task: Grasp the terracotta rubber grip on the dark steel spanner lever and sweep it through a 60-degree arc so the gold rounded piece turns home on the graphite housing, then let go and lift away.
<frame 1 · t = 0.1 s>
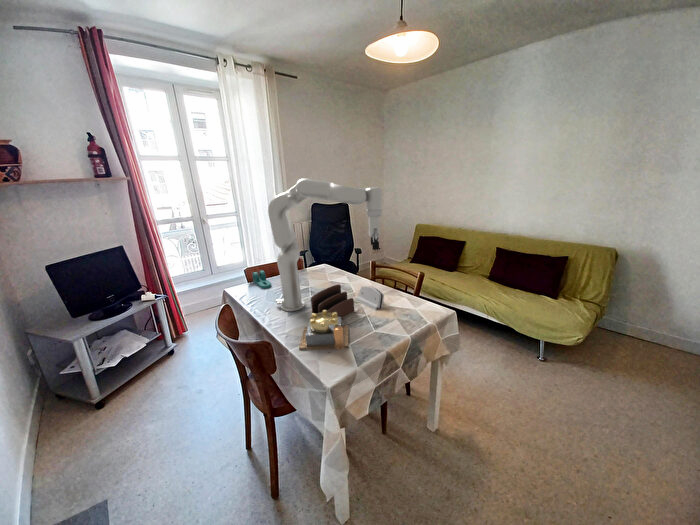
hand: (374, 247, 141), 31 cm above the table, tool pointing down, fingers open, 9 cm apart
gold rounded piece: (328, 328, 114), point 7 cm above the table, hinge at 0.0°
hinge: (370, 303, 150), on the table
bracket: (263, 285, 184), on the table
letter holder: (334, 316, 138), on the table
nut housing: (325, 337, 120), on the table
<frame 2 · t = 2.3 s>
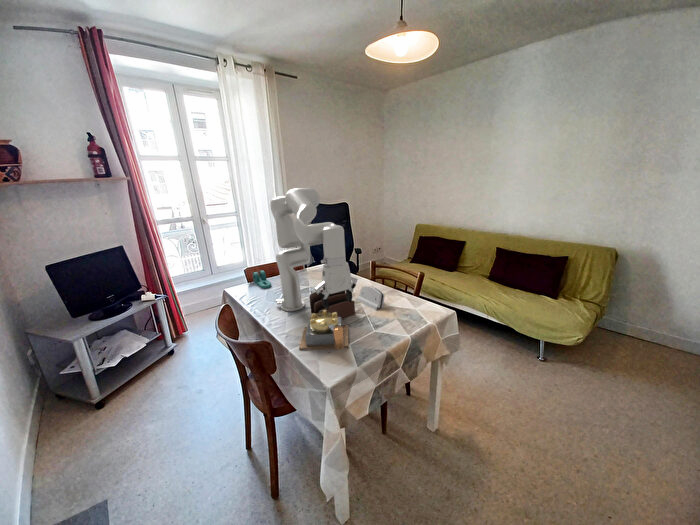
hand: (338, 304, 104), 21 cm above the table, tool pointing down, fingers open, 9 cm apart
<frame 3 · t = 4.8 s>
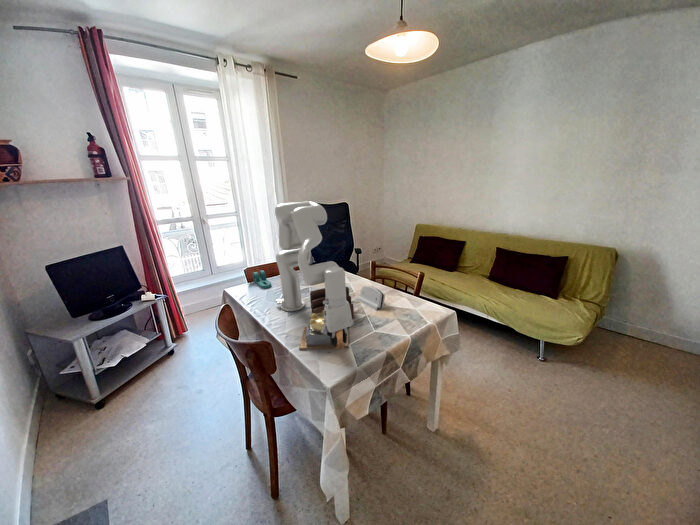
hand: (339, 342, 108), 5 cm above the table, tool pointing down, fingers closed on gold rounded piece, 3 cm apart
gold rounded piece: (328, 328, 114), point 7 cm above the table, hinge at -0.1°, touching gripper
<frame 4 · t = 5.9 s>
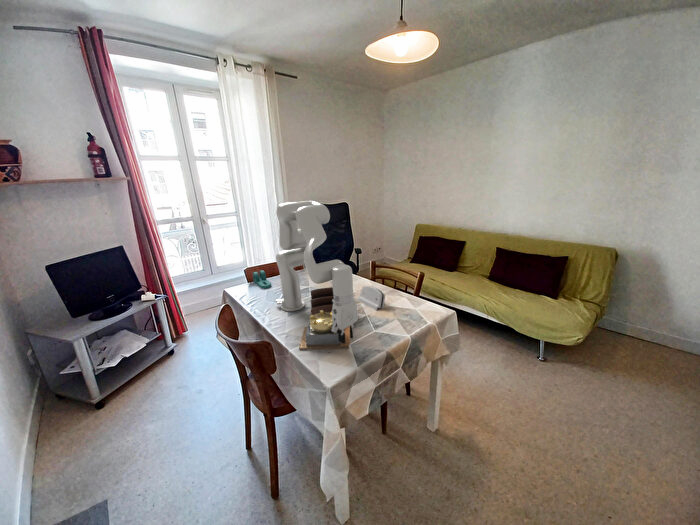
hand: (345, 339, 110), 5 cm above the table, tool pointing down, fingers closed on gold rounded piece, 3 cm apart
gold rounded piece: (331, 327, 115), point 7 cm above the table, hinge at 14.9°, touching gripper
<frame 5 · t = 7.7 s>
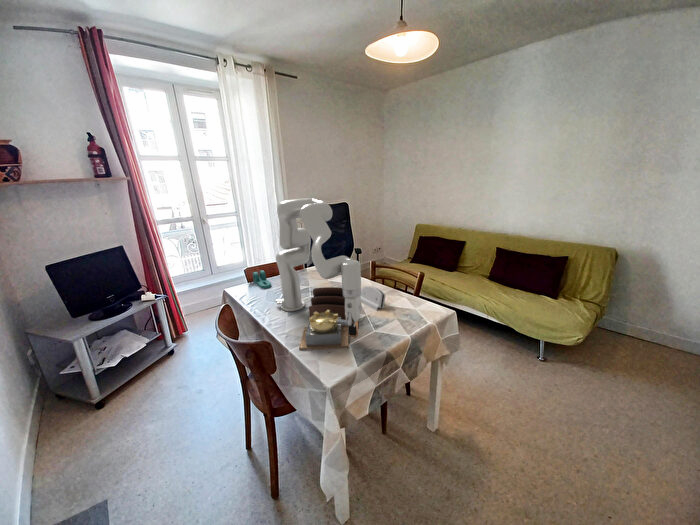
hand: (354, 331, 115), 5 cm above the table, tool pointing down, fingers closed on gold rounded piece, 3 cm apart
gold rounded piece: (334, 324, 116), point 7 cm above the table, hinge at 43.9°, touching gripper
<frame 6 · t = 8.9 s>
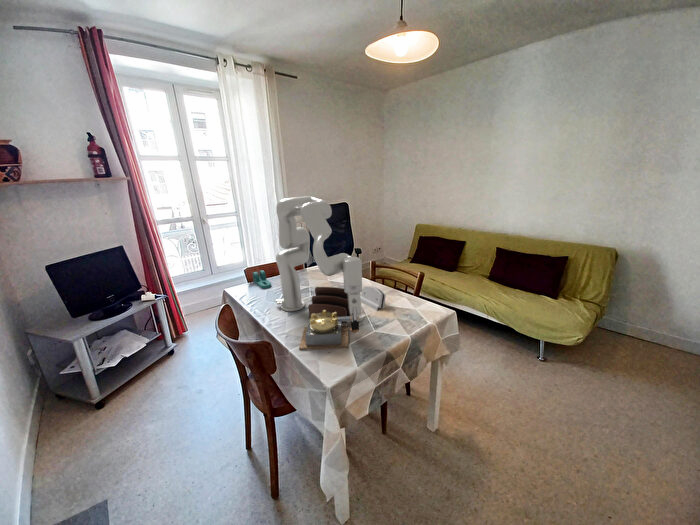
hand: (355, 326, 119), 5 cm above the table, tool pointing down, fingers closed on gold rounded piece, 3 cm apart
gold rounded piece: (334, 322, 118), point 7 cm above the table, hinge at 61.4°, touching gripper
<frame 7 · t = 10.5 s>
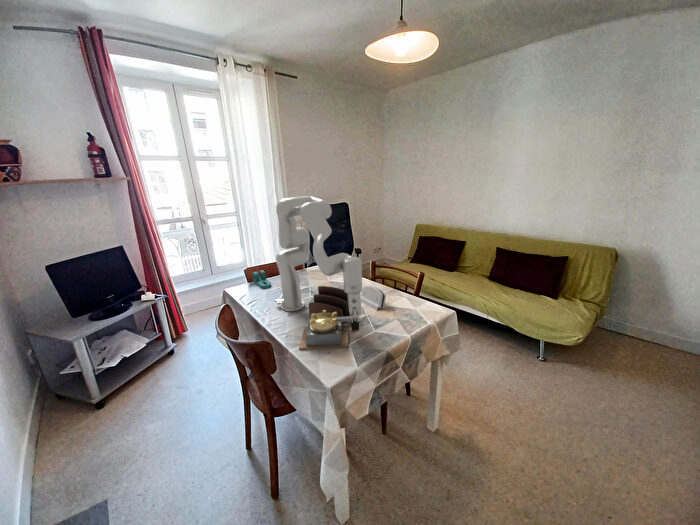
hand: (354, 323, 118), 6 cm above the table, tool pointing down, fingers open, 9 cm apart
gold rounded piece: (334, 322, 118), point 7 cm above the table, hinge at 61.5°
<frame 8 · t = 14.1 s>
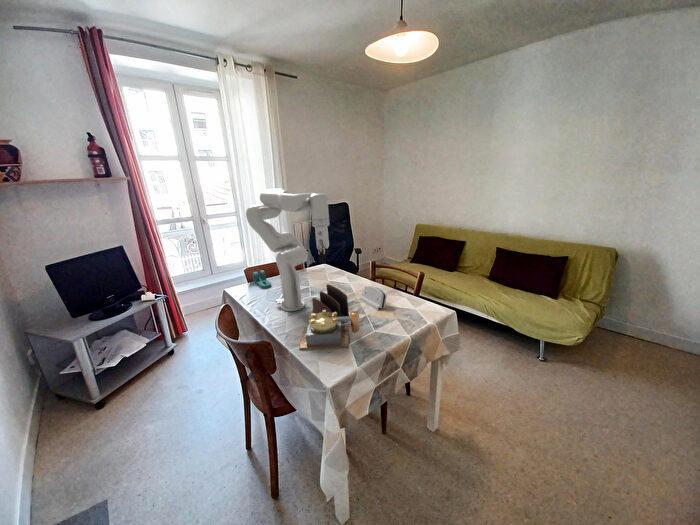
hand: (323, 259, 127), 30 cm above the table, tool pointing down, fingers open, 9 cm apart
at the end: gold rounded piece at +62° (first picture: +0°); the gripper is holding nothing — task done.
